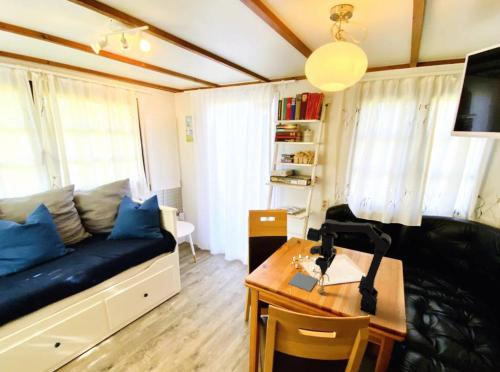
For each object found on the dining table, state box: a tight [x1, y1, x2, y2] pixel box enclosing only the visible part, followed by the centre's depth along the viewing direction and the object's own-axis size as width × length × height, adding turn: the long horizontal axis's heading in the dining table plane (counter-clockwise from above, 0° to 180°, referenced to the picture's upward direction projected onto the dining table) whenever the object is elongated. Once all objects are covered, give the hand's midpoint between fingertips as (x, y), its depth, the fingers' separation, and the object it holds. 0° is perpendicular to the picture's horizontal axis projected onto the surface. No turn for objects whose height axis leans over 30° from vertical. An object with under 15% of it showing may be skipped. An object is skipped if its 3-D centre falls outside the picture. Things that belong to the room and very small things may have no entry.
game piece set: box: [291, 254, 321, 272], centre depth 156 cm, size 19×20×4 cm
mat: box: [287, 271, 319, 293], centre depth 136 cm, size 13×14×1 cm
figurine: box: [313, 270, 330, 294], centre depth 127 cm, size 8×6×12 cm
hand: (325, 271), depth 124 cm, fingers open, 9 cm apart
